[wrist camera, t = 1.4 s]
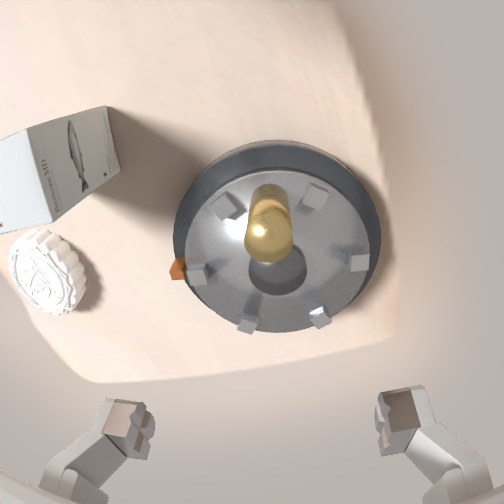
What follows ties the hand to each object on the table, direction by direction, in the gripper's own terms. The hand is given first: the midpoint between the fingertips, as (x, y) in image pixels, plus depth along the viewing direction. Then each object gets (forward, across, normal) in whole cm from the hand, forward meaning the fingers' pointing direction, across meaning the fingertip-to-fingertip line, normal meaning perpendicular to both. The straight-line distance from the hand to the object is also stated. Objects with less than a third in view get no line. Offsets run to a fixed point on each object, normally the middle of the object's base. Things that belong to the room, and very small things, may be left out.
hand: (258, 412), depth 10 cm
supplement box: (+24, +18, -7) cm, 31 cm away
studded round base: (+21, 0, +6) cm, 21 cm away
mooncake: (+24, +30, +7) cm, 39 cm away
